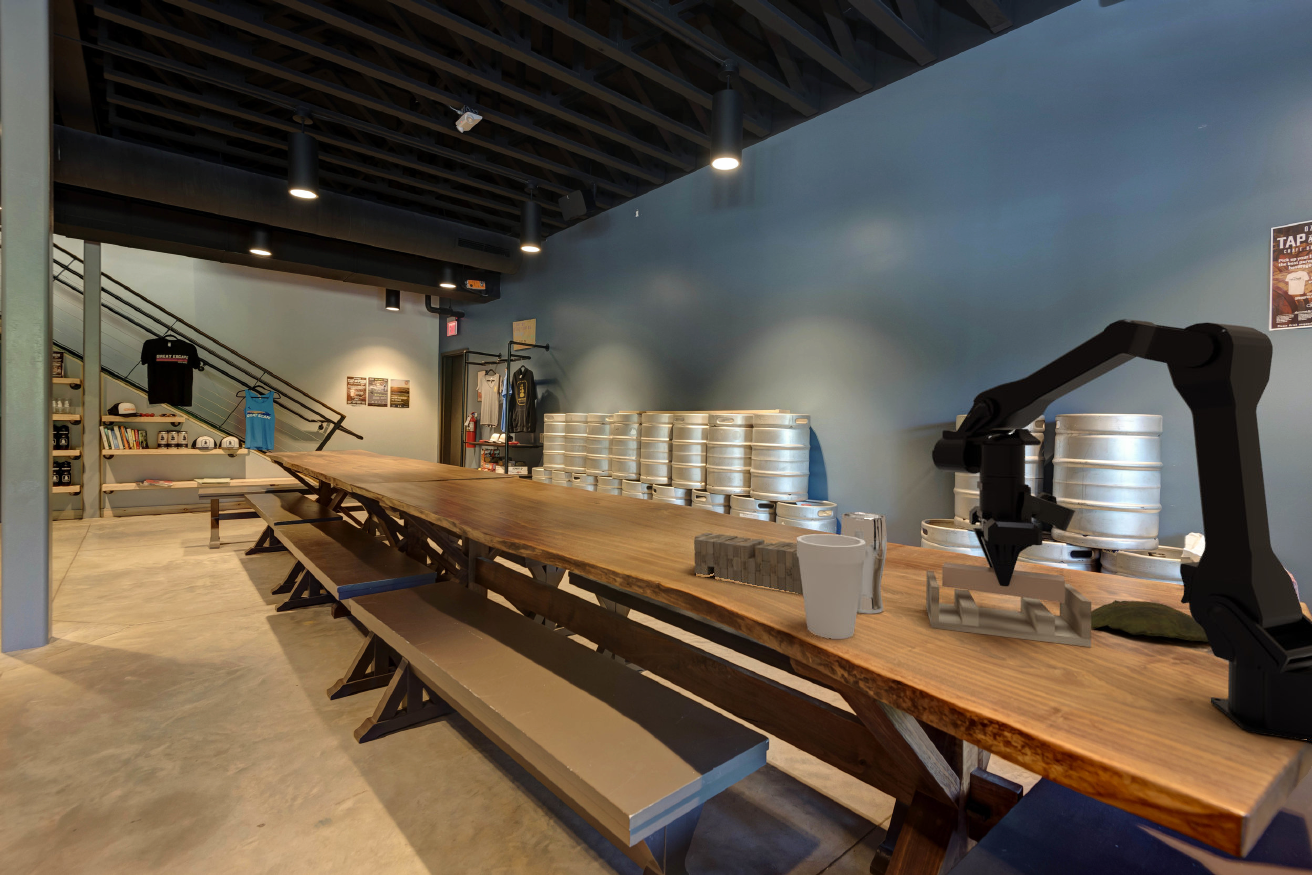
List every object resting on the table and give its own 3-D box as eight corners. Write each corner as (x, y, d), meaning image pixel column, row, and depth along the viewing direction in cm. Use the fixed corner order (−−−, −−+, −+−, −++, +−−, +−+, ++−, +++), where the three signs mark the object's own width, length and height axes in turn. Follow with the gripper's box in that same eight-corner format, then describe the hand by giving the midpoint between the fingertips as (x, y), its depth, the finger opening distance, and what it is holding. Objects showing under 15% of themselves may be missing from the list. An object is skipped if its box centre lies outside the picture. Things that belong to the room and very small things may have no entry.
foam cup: (813, 615, 86) (813, 531, 86) (874, 629, 80) (874, 539, 80) (785, 632, 79) (785, 541, 79) (850, 648, 73) (850, 549, 73)
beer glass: (836, 610, 89) (837, 516, 88) (844, 599, 95) (844, 511, 95) (883, 617, 85) (884, 519, 85) (888, 605, 92) (888, 514, 91)
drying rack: (1090, 646, 74) (1091, 601, 74) (931, 627, 81) (931, 586, 81) (1067, 623, 83) (1068, 582, 83) (926, 607, 90) (926, 570, 90)
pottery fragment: (1190, 659, 71) (1190, 626, 71) (1067, 624, 83) (1067, 596, 83) (1235, 641, 77) (1235, 611, 77) (1114, 612, 89) (1114, 586, 89)
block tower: (688, 580, 111) (834, 602, 94) (687, 538, 111) (833, 552, 94) (708, 572, 117) (849, 591, 100) (707, 532, 117) (847, 544, 100)
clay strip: (1063, 596, 79) (1063, 575, 79) (1064, 602, 76) (1064, 581, 76) (945, 581, 87) (945, 562, 87) (942, 586, 85) (942, 566, 85)
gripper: (1090, 483, 70) (1090, 607, 70) (1049, 473, 87) (1049, 572, 87) (988, 480, 74) (988, 597, 74) (968, 471, 92) (968, 566, 92)
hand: (1001, 582), depth 82 cm, fingers closed on clay strip, 4 cm apart
